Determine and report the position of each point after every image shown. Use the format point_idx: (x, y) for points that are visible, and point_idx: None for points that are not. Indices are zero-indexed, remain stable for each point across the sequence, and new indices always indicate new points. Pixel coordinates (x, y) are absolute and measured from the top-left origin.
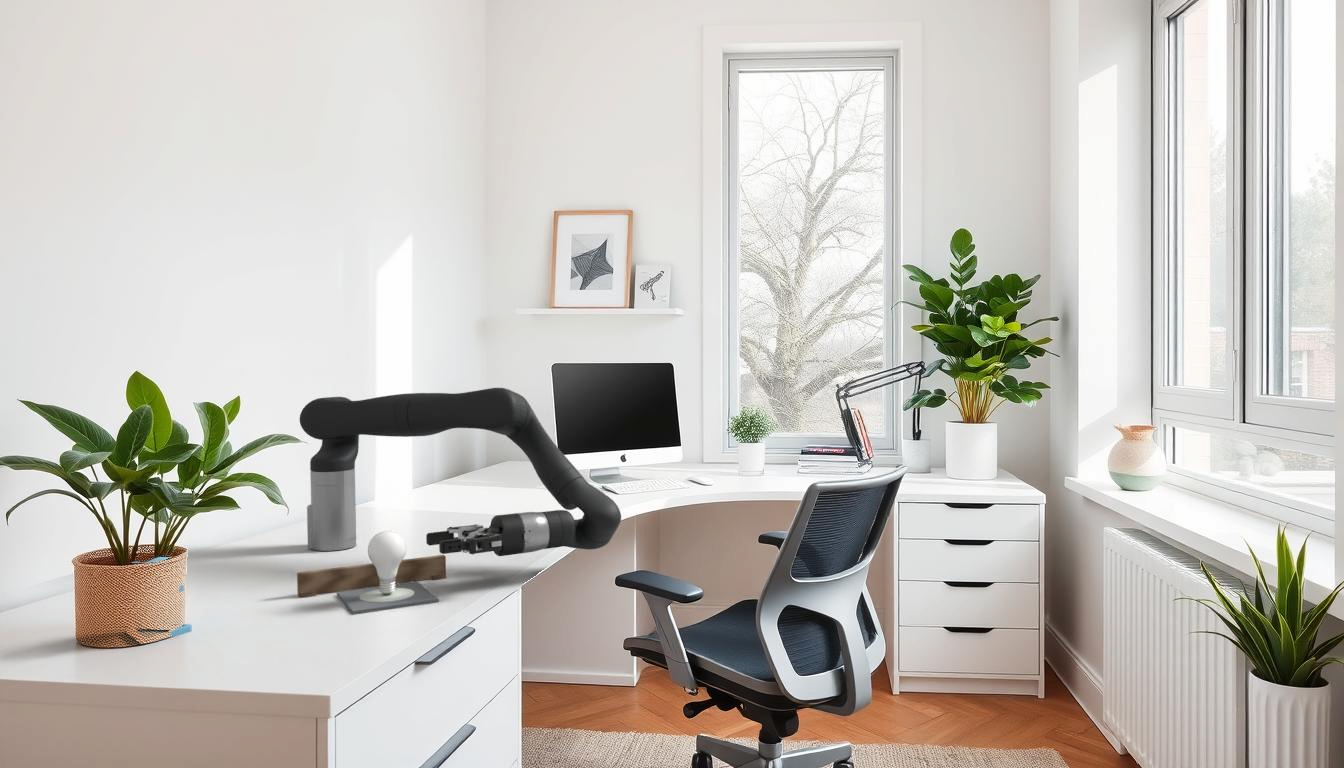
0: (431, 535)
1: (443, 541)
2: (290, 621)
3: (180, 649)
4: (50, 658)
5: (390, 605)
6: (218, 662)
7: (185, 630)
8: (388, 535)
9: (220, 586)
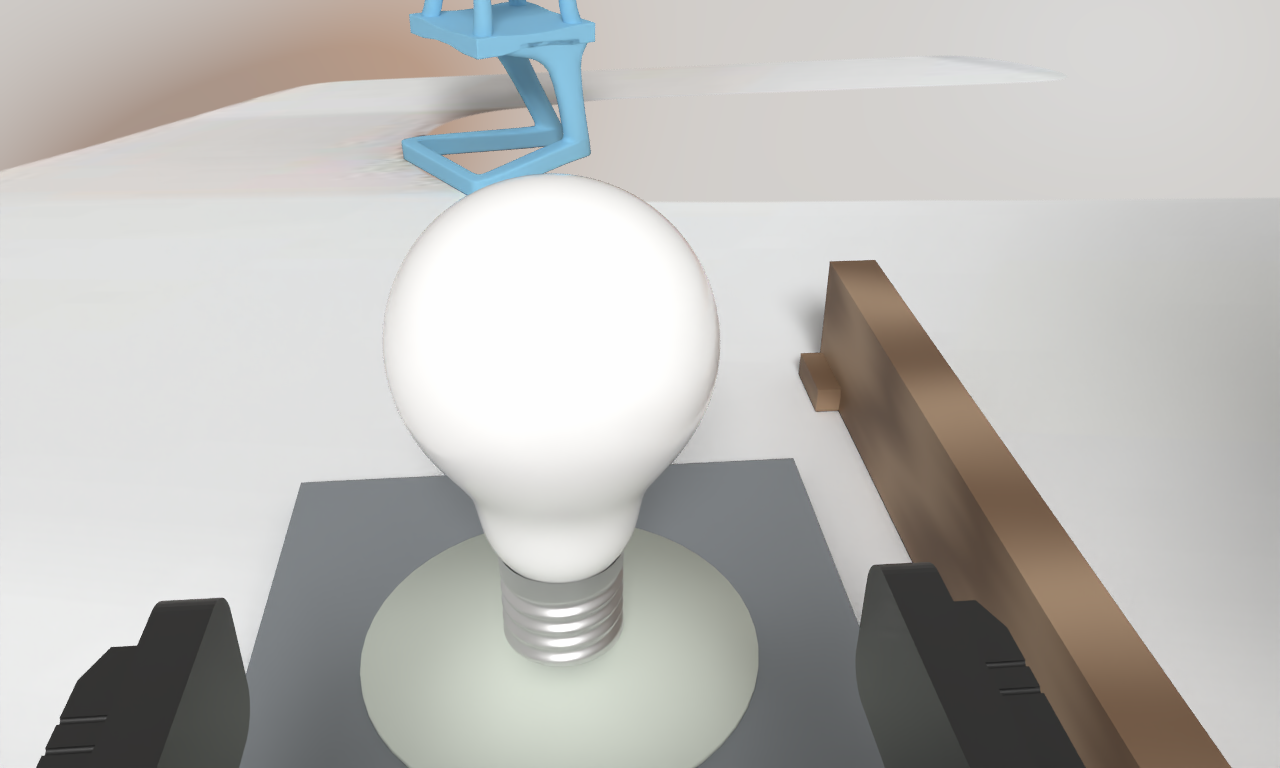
0: (890, 615)
1: (153, 618)
2: None
3: (285, 191)
4: (424, 97)
5: (265, 633)
6: (50, 232)
7: (463, 186)
8: (458, 209)
9: (1108, 230)
